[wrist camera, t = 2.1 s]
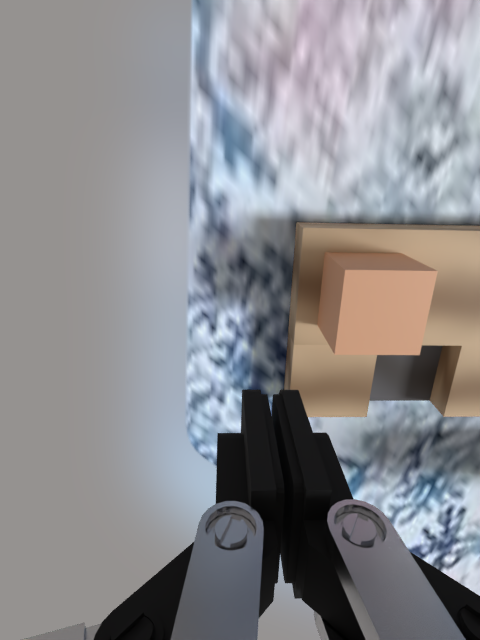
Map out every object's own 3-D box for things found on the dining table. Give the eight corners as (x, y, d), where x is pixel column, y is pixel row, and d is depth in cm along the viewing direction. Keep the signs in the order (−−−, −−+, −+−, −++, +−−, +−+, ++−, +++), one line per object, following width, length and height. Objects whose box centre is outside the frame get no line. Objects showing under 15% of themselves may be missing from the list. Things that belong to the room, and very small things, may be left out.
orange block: (324, 252, 25) (345, 269, 20) (401, 253, 25) (437, 271, 21) (317, 324, 26) (334, 354, 22) (389, 325, 27) (419, 355, 23)
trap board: (296, 222, 26) (317, 239, 20) (634, 228, 27) (750, 246, 21) (283, 398, 32) (297, 453, 25) (567, 398, 33) (646, 451, 26)
